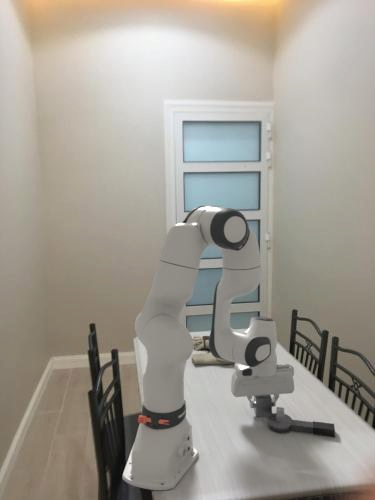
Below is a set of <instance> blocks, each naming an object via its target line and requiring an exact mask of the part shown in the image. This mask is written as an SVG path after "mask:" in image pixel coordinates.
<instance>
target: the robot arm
mask: <svg viewBox="0 0 375 500" xmlns="http://www.w3.org/2000/svg"><path fill="white" fill-rule="evenodd" d="M167 231H168V232H167V234H166V237H165V238H164V241H163V244H162V247H161V249H160V252H159V256H158V260H157V263H156V264H157V265H156V267H155V268H156V269H155V273H154V277H153V281H152V285H151V288H150V292H149V293H148V295H147V297H146V300H145V302H144V305H143V307H142V309H141V311H140V312H139V313H138V315H137V316H136V317H135V321H134V329H135V333H136V337H137V339H138V341H139V342H140V344H142V345H143V346H144V348H145V351H146V355H147V358H146V359H147V363H146V368H145V372H144V373H143V377H142V386H143V387H142V388H143V402H142V406H141V412H140V413H141V414H140V415H138V419H137V423H138V424H139V425H138V428H137V431H136V436H135V440H134V442H133V445H132V447H131V450H130V452H129V456H128V459H127V461H126V464H125V467H124V470H123V473H122V477H121V478H122V481H124V482H125V483H126V484H129V485H130V486H133V487H137V488H141V489H145V490H151V491H152V490H153V491H167V490H171V489H174V488H175V487H176V486H177V485H178V483H179V482H180V481H181V479H182V478H183V477H184V476H185V475H186V473H187V472H188V470H189V469H190V468H191V467H192V465H193V464H194V462H195V461H196V460H197V458H199V455H200V454H199V450H197V449H196V448H195V447H194V441H193V440H194V439H193V429H192V424H191V423H190V422H189V420H188V418H187V417H186V416H187V404H186V400H185V387H184V386H185V379H184V378H185V371H186V366H187V361H188V360H189V359H190V358H191V357H192V355H193V352H194V343H193V342H194V341H193V337H192V335H191V332H190V331H189V330H188V328H187V327H186V326H185V325H184V324H183V323H182V322H181V321H179V319H180V316H181V314H182V311H183V309H184V307H185V305H186V304H187V303H188V302H189V301H190V300H191V299H192V297H193V294H194V291H195V286H196V282H197V277H198V272H199V268H200V263H201V259H202V256H203V254H204V251H205V250H206V249H207V247H214V248H219V249H220V252H221V256H222V273H221V274H222V275H221V278H220V280H219V281H218V282H216V286H215V288H214V295H213V303H212V304H213V305H212V317H211V318H212V319H211V328H210V334H209V336H210V337H209V349H208V350H209V351H210V352H211V353H212V355H213V356H214V357H215V358H219V359H223V360H228V361H231V362H234V363H233V364H234V366H233V367H234V370H235V371H234V372H233V373H232V375H231V384H230V391H231V395H233V397H235V398H241V397H243V398H244V397H246V398H247V400H248V402H249V408H250V409H254V408H255V402H254V400H252V399H253V397H254V396H259V395H273V397H271V398H272V408H275V407H276V408H277V405H276V403H277V401H278V400H279V398H280V395H284V394H285V395H286V394H287V395H288V394H292V393H294V392H295V382H294V376H295V368H294V366H292V365H290V364H288V363H286V364H278V358H277V351H276V349H277V345H278V336H277V334H278V333H277V326H276V322H275V321H274V319H272V318H271V317H266V316H260V315H256V316H252V317H251V318H250V321H249V326H248V328H247V329H246V330H245V331H241V330H237V329H234V328H232V326H231V324H230V322H231V321H230V319H231V309H232V302H233V301H234V299H237V298H241V297H243V296H246V295H248V294H251V293H253V292H254V291H255V290H256V289H257V288H258V287H259V285H260V283H261V280H262V263H261V252H260V246H259V242H258V237H257V235H256V233H255V232H254V231H253V230H252V229H250V228H249V223H248V221H247V218H246V216H244V214H243V213H242V212H241V211H238V210H237V209H234V208H230V207H223V206H220V205H219V206H218V205H208V206H206V205H200V206H197V207H194V208H192V209H191V210H190V211H189V212H188V214H187V215H186V217H185V218H184V219H183V221H182V222H179V223H176V224H173V225H171V227H170V228H169V229H168V230H167Z"/></svg>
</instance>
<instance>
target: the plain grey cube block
mask: <svg viewBox="0 0 375 500" xmlns="http://www.w3.org/2000/svg"><path fill="white" fill-rule="evenodd" d="M272 398H273V397H272V396H271V395H259V396H253V401H254V402H255V408H253V410H254V414H255V417H257V418H269V416H270V415H271V414H273V411H272V409H273V407H272Z"/></svg>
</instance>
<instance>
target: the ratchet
mask: <svg viewBox="0 0 375 500" xmlns="http://www.w3.org/2000/svg"><path fill="white" fill-rule="evenodd" d="M275 410H276V412H275V413H272V414H271V415H270V416H269V417H268V428H269V430H270V431H271V432H274V433H277V434H288V433H290V432H296V433H303V434H304V433H305V434H311V435H314V436H324V437H331V438H335V437H336V436H335V435H336V433H335V432H336V429H335V428H336V427H335V423H329V422H321V421H315V420H314V421H306V420H298V419H292V417H291V416H289V415H288V414H286V413H285V407H280V406H276V409H275Z"/></svg>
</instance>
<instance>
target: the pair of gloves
mask: <svg viewBox="0 0 375 500" xmlns="http://www.w3.org/2000/svg"><path fill="white" fill-rule="evenodd" d="M209 337H210V335H195V334H194V335H193V337H192V339H193V343H194V347H193V350H194V351H195V350H197V351H200V350H202V349H205V350H210V349H209ZM190 358H191V362H192V364H193V365H195V366H197V365H203V366H204V365H206V366H207V365H230V364H235V363H234V362H231V361H228V360H223V359H219V358H215V357H214V356H213V355H212V353H211V351H210V352H203V353H194V354H193V353H192V354H191V356H190Z"/></svg>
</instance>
